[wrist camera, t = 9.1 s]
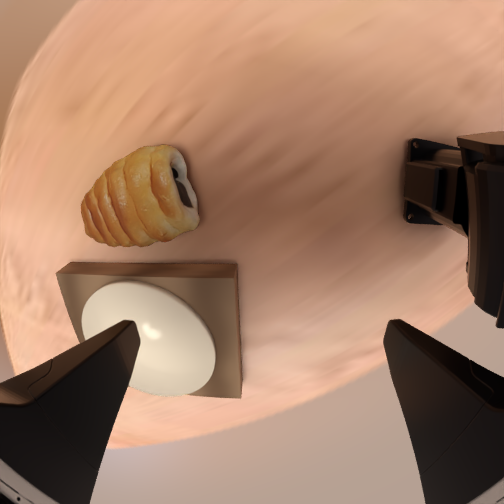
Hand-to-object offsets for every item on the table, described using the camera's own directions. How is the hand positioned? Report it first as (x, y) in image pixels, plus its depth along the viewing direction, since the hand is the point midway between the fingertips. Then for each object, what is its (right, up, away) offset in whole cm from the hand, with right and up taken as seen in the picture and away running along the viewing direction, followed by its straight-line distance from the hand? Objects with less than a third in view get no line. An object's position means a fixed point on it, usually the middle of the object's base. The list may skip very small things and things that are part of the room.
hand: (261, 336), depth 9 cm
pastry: (-11, +9, +11) cm, 18 cm away
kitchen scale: (-9, -4, +15) cm, 18 cm away
